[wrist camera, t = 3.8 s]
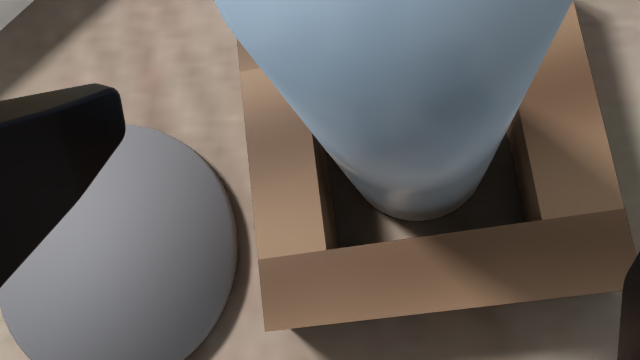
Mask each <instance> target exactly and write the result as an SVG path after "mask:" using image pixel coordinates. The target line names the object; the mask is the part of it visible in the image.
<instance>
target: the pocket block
mask: <svg viewBox="0 0 640 360" xmlns="http://www.w3.org/2000/svg"><path fill="white" fill-rule="evenodd" d="M237 47H238V57H239V67H240V78H241V88H242V98H243V109H244V119H245V129H246V140H247V150H248V161H249V171H250V181H251V192H252V202H253V212H254V223H255V233H256V243H257V254H258V264H259V275H260V285H261V295H262V306H263V316H264V326H265V332H266V331H275V330H284V329H293V328H301V327H310V326H319V325H327V324H336V323H345V322H354V321H362V320H371V319H380V318H388V317H397V316H406V315H415V314H423V313H432V312H441V311H449V310H458V309H467V308H476V307H484V306H493V305H502V304H511V303H519V302H528V301H537V300H545V299H554V298H563V297H572V296H580V295H589V294H598V293H606V292H615V291H623V284H624V280H625V277H626V274H627V272H628V270H629V268H630V267H631V265H632V264H633V262H634V260H635V259H636V253H635V249H634V245H633V241H632V237H631V233H630V229H629V224H628V220H627V216H626V212H625V208H624V204H623V200H622V196H621V192H620V188H619V184H618V180H617V176H616V172H615V168H614V164H613V159H612V155H611V151H610V147H609V143H608V139H607V135H606V131H605V127H604V123H603V119H602V115H601V111H600V107H599V103H598V99H597V94H596V90H595V86H594V82H593V78H592V74H591V70H590V66H589V62H588V58H587V54H586V50H585V46H584V42H583V38H582V34H581V29H580V25H579V21H578V17H577V13H576V9H575V5H574V1H573V2H572V4H571V6H570V8H569V10H568V12H567V13H566V15H565V17H564V19H563V21H562V23H561V25H560V27H559V29H558V31H557V33H556V35H555V37H554V39H553V41H552V43H551V45H550V47H549V49H548V51H547V53H546V55H545V57H544V59H543V61H542V63H541V65H540V67H539V69H538V71H537V72H536V74H535V76H534V78H533V80H532V82H531V84H530V86H529V88H528V90H527V92H526V94H525V96H524V98H523V100H522V102H521V104H520V106H519V108H518V110H517V112H516V114H515V116H514V118H513V120H512V122H511V124H510V126H509V128H508V129H507V131H508V136H509V141H510V146H511V151H512V156H513V161H514V166H515V170H516V175H517V180H518V185H519V190H520V195H521V200H522V205H523V209H524V214H525V219H526V222H524V223H516V224H509V225H502V226H495V227H488V228H481V229H473V230H466V231H459V232H452V233H445V234H438V235H430V236H423V237H416V238H409V239H402V240H395V241H387V242H380V243H373V244H366V245H359V246H352V247H344V248H339V247H338V239H337V232H336V224H335V216H334V208H333V201H332V193H331V185H330V177H329V170H328V162H327V154H326V150H325V149H324V147H323V146H322V145H321V144H320V142H319V141H318V140H317V139H316V137H315V136H314V135H313V134H312V132H311V131H310V130H309V128H308V127H307V126H306V125H305V123H304V122H303V121H302V120H301V118H300V117H299V116H298V115H297V113H296V112H295V111H294V110H293V108H292V107H291V106H290V105H289V103H288V102H287V101H286V100H285V98H284V97H283V96H282V95H281V93H280V92H279V91H278V90H277V88H276V87H275V86H274V85H273V83H272V82H271V81H270V80H269V78H268V77H267V76H266V75H265V73H264V72H263V71H262V69H261V68H260V67H259V66H258V64H257V63H256V62H255V61H254V59H253V58H252V57H251V56H250V54H249V53H248V52H247V51H246V49H245V48H244V47H243V46H242V44H241V43H240V42H239V41H238V39H237Z"/></svg>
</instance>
